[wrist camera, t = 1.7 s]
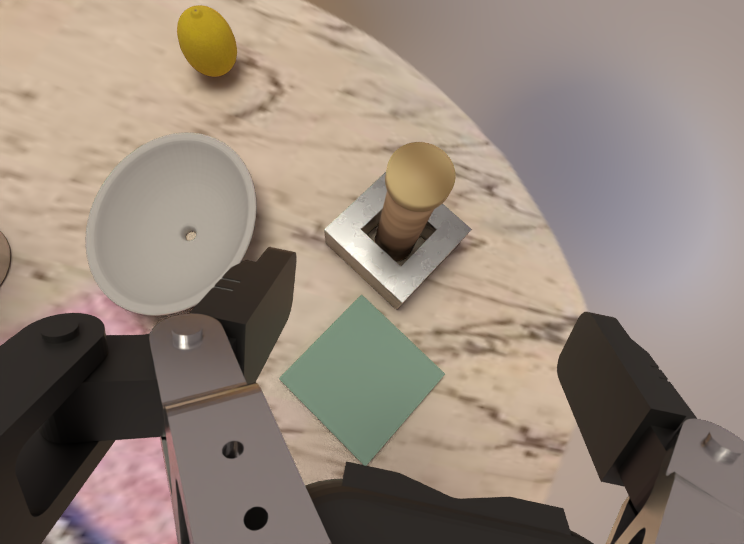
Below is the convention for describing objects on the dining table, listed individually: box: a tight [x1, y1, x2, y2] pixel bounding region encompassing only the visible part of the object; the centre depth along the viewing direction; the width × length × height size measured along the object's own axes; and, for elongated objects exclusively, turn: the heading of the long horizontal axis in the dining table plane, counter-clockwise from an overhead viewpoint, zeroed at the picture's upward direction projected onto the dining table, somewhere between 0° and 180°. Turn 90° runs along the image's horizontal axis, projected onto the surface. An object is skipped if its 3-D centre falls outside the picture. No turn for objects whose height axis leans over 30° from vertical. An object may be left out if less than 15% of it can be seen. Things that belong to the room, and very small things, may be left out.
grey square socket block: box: [324, 172, 472, 310], centre depth 42 cm, size 10×10×4 cm
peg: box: [375, 142, 455, 261], centre depth 36 cm, size 5×5×15 cm
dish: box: [86, 133, 256, 316], centre depth 40 cm, size 18×14×5 cm
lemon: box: [177, 5, 237, 77], centre depth 43 cm, size 6×6×8 cm
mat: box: [279, 295, 445, 466], centre depth 39 cm, size 11×11×1 cm
